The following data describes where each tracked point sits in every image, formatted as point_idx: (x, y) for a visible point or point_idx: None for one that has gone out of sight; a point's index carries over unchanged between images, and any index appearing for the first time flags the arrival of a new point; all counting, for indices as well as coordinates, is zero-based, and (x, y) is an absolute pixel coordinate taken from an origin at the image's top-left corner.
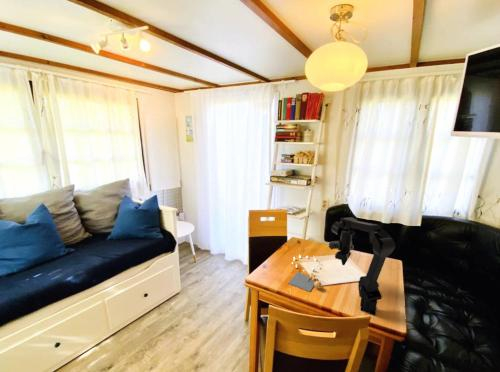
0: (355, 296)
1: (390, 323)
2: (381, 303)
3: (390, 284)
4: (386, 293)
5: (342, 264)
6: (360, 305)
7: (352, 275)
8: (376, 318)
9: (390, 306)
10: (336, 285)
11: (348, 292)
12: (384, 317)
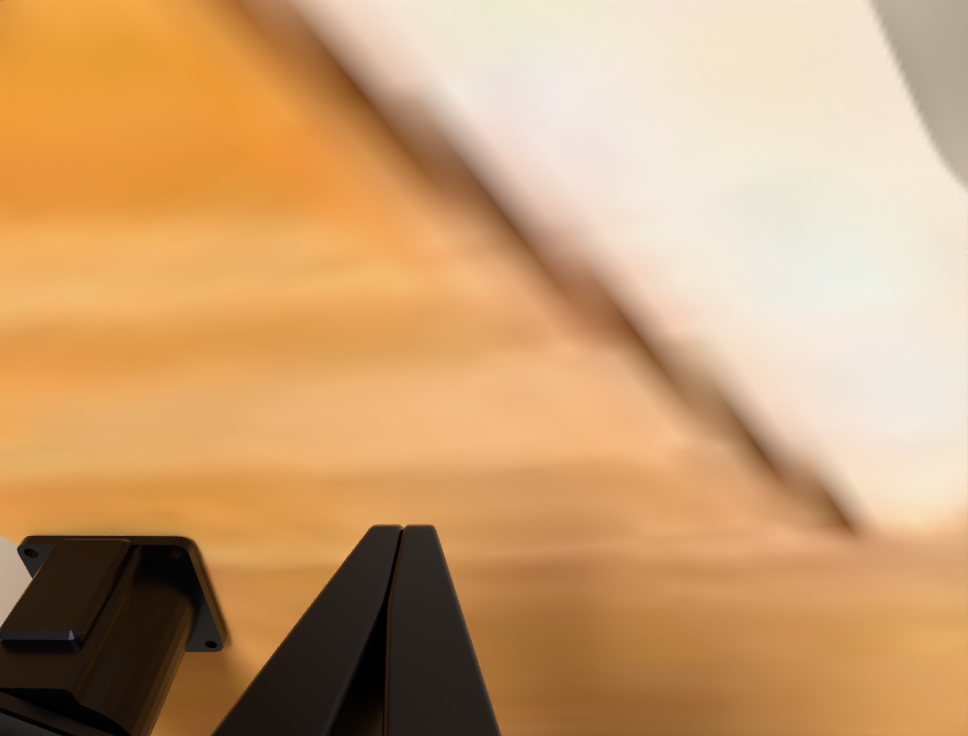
0: (261, 451)
1: None
2: None
3: (849, 703)
4: (606, 684)
5: (364, 546)
6: (49, 554)
7: (916, 309)
8: None
9: None
10: (331, 128)
11: (280, 358)
12: None
